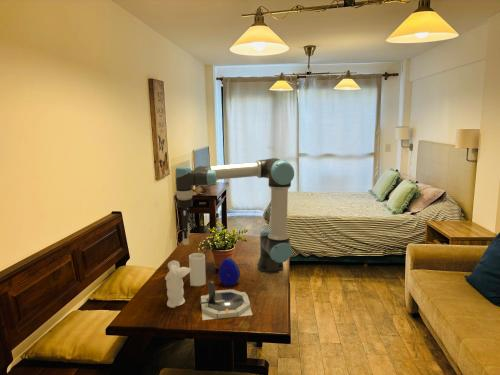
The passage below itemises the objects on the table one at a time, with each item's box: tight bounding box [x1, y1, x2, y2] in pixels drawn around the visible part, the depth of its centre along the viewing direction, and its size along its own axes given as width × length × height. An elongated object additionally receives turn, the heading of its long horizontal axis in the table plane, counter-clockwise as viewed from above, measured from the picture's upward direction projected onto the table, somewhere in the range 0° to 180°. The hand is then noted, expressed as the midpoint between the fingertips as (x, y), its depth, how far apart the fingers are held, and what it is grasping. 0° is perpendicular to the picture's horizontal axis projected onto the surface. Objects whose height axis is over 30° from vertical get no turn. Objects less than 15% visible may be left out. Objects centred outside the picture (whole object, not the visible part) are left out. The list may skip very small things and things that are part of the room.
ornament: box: [218, 257, 241, 287], centre depth 190 cm, size 11×9×15 cm
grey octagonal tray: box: [199, 288, 253, 321], centre depth 169 cm, size 23×23×3 cm
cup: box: [188, 252, 207, 287], centre depth 191 cm, size 8×8×16 cm
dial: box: [207, 280, 243, 311], centre depth 168 cm, size 16×16×12 cm
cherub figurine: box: [164, 259, 191, 309], centre depth 171 cm, size 12×12×22 cm
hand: (186, 239), depth 182 cm, fingers open, 13 cm apart
